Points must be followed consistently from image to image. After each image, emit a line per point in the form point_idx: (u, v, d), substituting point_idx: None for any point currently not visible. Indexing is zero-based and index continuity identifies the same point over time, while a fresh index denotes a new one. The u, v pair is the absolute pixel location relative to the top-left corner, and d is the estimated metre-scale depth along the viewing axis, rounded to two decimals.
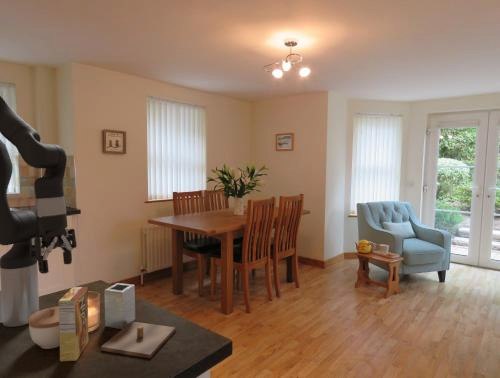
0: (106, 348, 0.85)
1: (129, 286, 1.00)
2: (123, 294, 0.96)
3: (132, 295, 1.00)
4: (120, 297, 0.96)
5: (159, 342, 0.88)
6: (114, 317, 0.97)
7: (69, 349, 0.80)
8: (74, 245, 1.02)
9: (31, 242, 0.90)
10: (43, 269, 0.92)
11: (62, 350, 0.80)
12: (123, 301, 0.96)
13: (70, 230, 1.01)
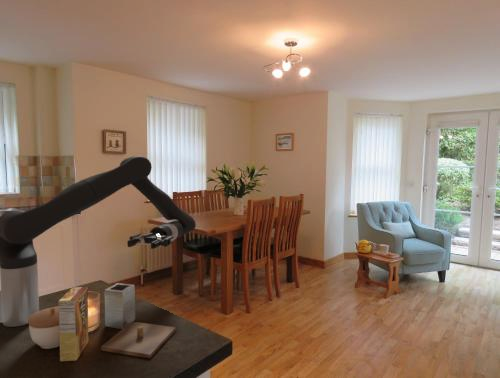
0: (106, 348, 0.85)
1: (129, 286, 1.00)
2: (123, 294, 0.96)
3: (132, 295, 1.00)
4: (120, 297, 0.96)
5: (159, 342, 0.88)
6: (114, 317, 0.97)
7: (69, 349, 0.80)
8: None
9: (172, 238, 1.16)
10: (156, 247, 1.09)
11: (62, 350, 0.80)
12: (123, 301, 0.96)
13: None
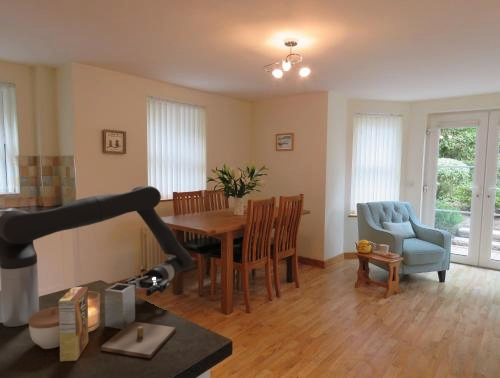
0: (106, 348, 0.85)
1: (129, 286, 1.00)
2: (123, 294, 0.96)
3: (132, 295, 1.00)
4: (120, 297, 0.96)
5: (159, 342, 0.88)
6: (114, 317, 0.97)
7: (69, 349, 0.80)
8: None
9: (168, 282, 1.15)
10: (151, 293, 1.07)
11: (62, 350, 0.80)
12: (123, 301, 0.96)
13: None
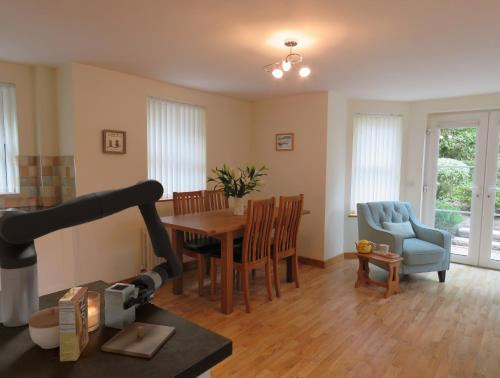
0: (106, 348, 0.85)
1: (129, 286, 1.00)
2: (123, 294, 0.96)
3: (132, 295, 1.00)
4: (120, 297, 0.96)
5: (159, 342, 0.88)
6: (114, 317, 0.97)
7: (69, 349, 0.80)
8: None
9: (151, 294, 1.04)
10: None
11: (62, 350, 0.80)
12: (123, 301, 0.96)
13: None
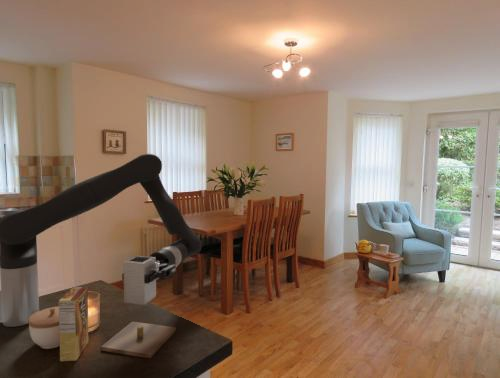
0: (106, 348, 0.85)
1: (150, 258, 0.90)
2: (144, 266, 0.86)
3: (153, 268, 0.91)
4: (141, 269, 0.86)
5: (159, 342, 0.88)
6: (134, 292, 0.87)
7: (69, 349, 0.80)
8: None
9: (174, 268, 0.94)
10: (151, 281, 0.88)
11: (62, 350, 0.80)
12: (144, 274, 0.86)
13: None
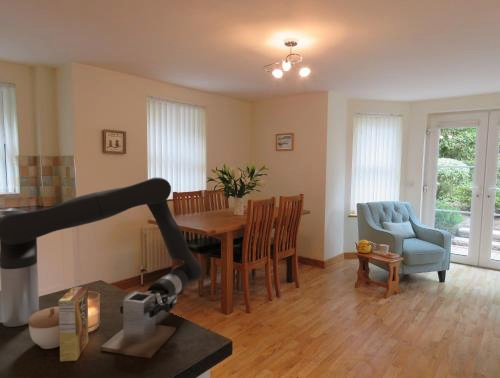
0: (106, 348, 0.85)
1: (149, 296, 0.91)
2: (144, 305, 0.87)
3: (153, 305, 0.91)
4: (140, 308, 0.86)
5: (159, 342, 0.88)
6: (134, 330, 0.87)
7: (69, 349, 0.80)
8: None
9: (175, 299, 0.95)
10: None
11: (62, 350, 0.80)
12: (144, 313, 0.87)
13: None
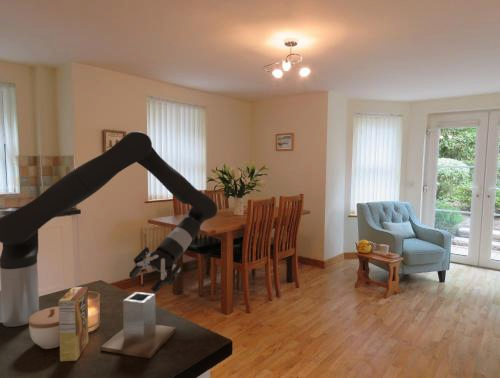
0: (106, 348, 0.85)
1: (149, 296, 0.91)
2: (144, 305, 0.87)
3: (153, 305, 0.91)
4: (140, 308, 0.86)
5: (159, 342, 0.88)
6: (134, 330, 0.87)
7: (69, 349, 0.80)
8: None
9: (178, 269, 1.02)
10: None
11: (62, 350, 0.80)
12: (144, 313, 0.87)
13: None
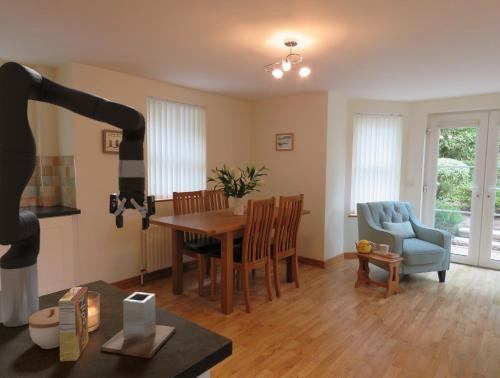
0: (106, 348, 0.85)
1: (149, 296, 0.91)
2: (144, 305, 0.87)
3: (153, 305, 0.91)
4: (140, 308, 0.86)
5: (159, 342, 0.88)
6: (134, 330, 0.87)
7: (69, 349, 0.80)
8: None
9: (151, 199, 0.98)
10: None
11: (62, 350, 0.80)
12: (144, 313, 0.87)
13: (116, 195, 1.02)
